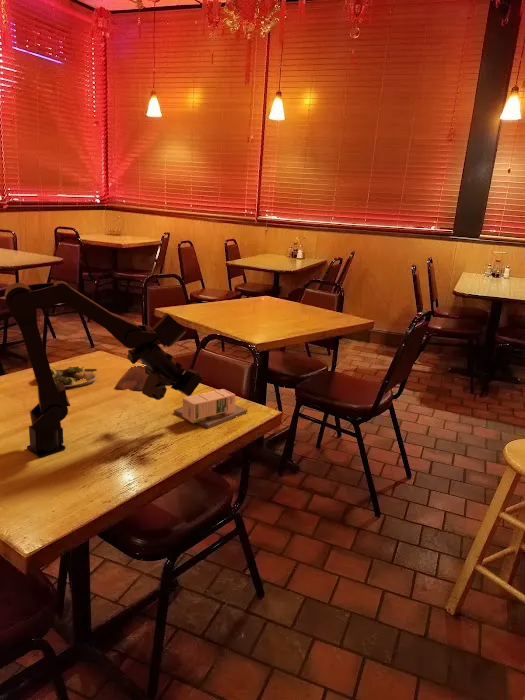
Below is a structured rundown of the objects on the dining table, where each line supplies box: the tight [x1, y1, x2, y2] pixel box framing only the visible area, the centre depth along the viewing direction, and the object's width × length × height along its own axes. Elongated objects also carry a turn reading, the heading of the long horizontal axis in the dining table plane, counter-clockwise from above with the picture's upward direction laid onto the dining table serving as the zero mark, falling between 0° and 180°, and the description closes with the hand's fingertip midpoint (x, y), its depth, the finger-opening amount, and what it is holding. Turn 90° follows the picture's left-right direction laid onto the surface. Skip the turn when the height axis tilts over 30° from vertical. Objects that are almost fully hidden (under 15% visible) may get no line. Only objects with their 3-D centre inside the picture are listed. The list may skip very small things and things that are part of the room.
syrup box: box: [181, 388, 236, 424], centre depth 144 cm, size 6×6×14 cm
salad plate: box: [50, 366, 98, 390], centre depth 167 cm, size 19×18×5 cm
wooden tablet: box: [115, 364, 148, 392], centre depth 174 cm, size 26×2×10 cm
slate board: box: [173, 404, 248, 429], centre depth 148 cm, size 16×14×1 cm
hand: (190, 391), depth 139 cm, fingers closed
